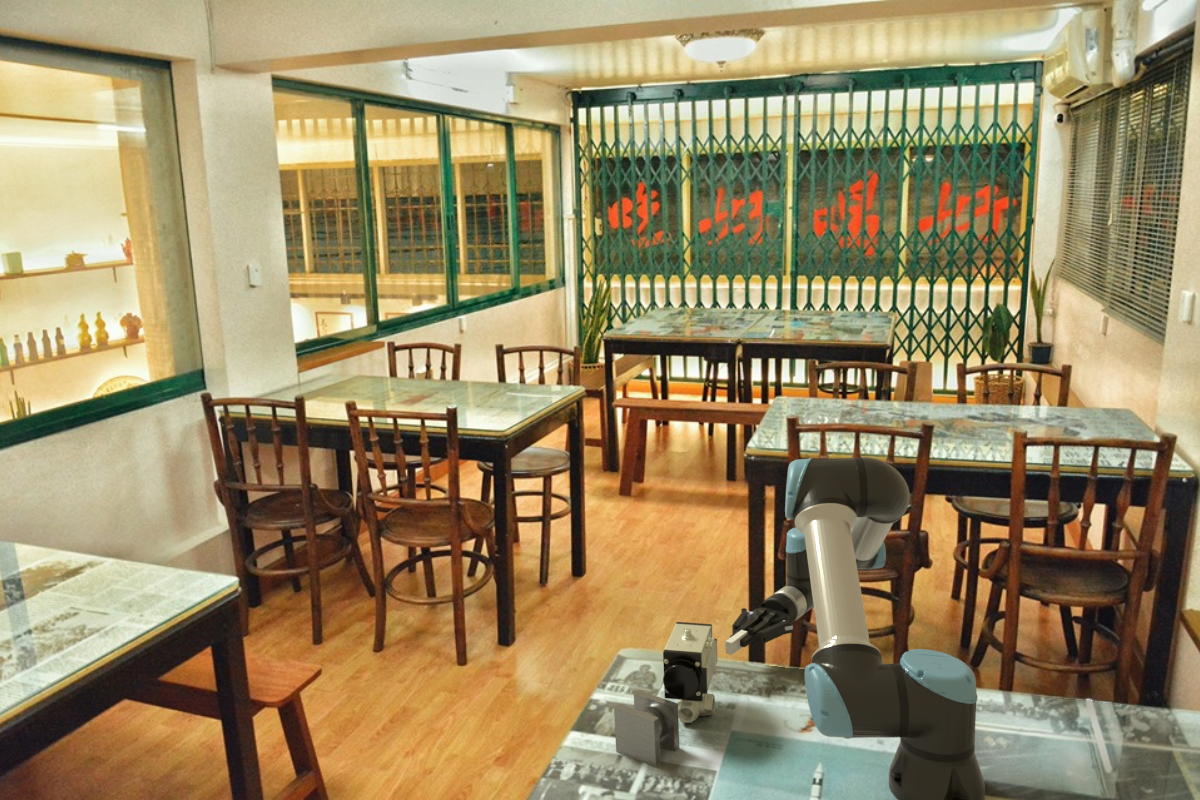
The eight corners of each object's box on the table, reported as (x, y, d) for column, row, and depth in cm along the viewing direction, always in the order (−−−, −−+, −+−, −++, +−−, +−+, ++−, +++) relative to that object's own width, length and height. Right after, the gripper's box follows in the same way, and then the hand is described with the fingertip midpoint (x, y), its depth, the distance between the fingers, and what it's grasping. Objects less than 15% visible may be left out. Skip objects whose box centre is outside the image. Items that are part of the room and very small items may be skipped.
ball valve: (708, 740, 174) (705, 652, 170) (663, 735, 176) (660, 648, 173) (721, 693, 191) (719, 612, 187) (680, 689, 193) (678, 609, 190)
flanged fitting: (679, 748, 172) (677, 703, 170) (655, 767, 166) (654, 721, 164) (640, 733, 177) (638, 689, 176) (616, 751, 172) (614, 706, 170)
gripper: (809, 630, 207) (756, 673, 189) (757, 617, 215) (702, 656, 197) (809, 599, 205) (756, 639, 187) (757, 586, 213) (701, 623, 195)
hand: (728, 648), depth 192 cm, fingers closed
